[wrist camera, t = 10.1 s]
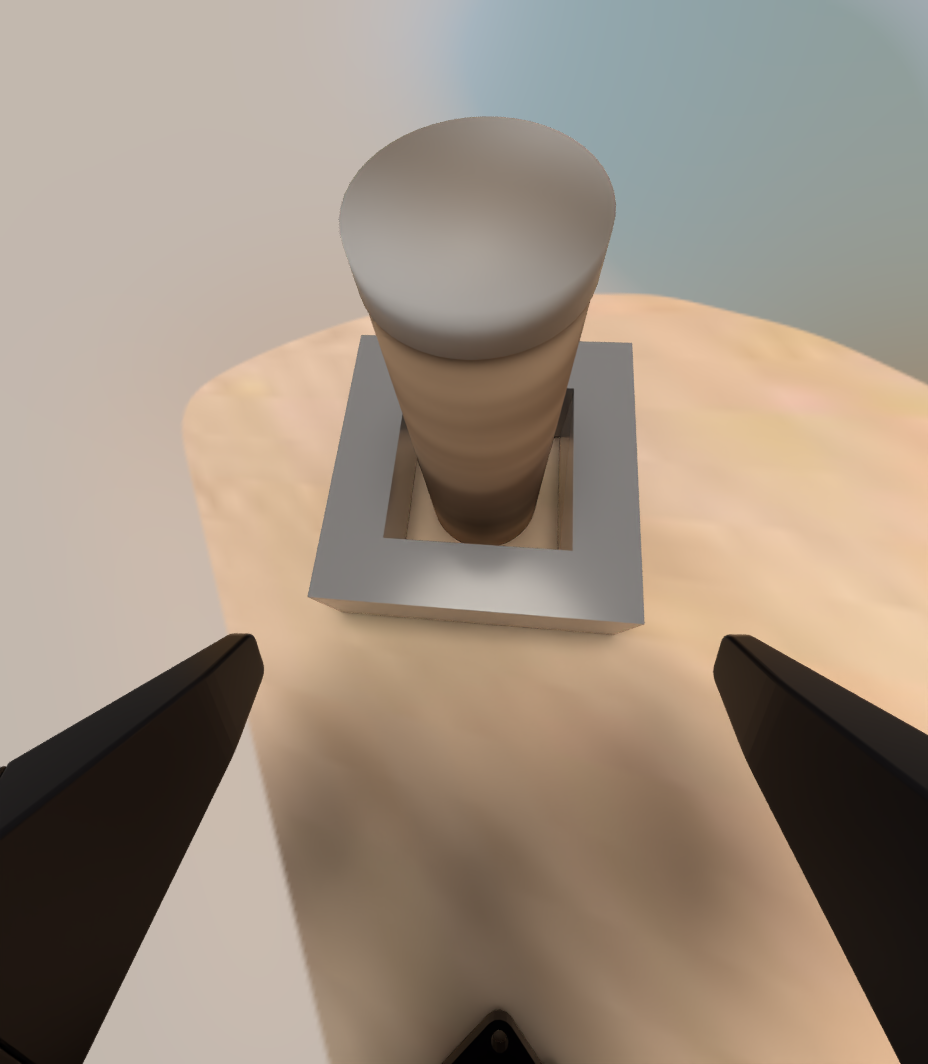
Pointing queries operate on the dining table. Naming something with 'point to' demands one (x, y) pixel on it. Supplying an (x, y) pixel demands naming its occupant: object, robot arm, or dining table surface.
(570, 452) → the grey square frame
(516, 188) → the post
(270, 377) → the dining table surface
